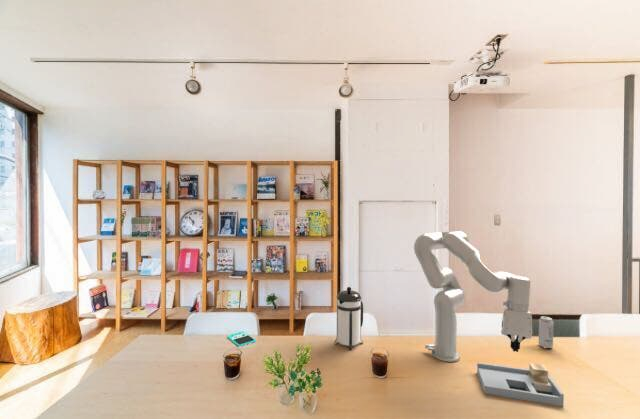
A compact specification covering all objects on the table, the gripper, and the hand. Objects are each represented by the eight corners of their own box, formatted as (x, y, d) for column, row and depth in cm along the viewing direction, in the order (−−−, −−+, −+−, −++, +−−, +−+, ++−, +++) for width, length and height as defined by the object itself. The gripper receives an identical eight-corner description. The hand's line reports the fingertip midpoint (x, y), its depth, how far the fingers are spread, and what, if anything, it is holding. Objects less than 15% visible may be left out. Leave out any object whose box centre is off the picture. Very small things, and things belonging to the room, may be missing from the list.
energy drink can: (548, 350, 160) (548, 320, 160) (535, 345, 166) (536, 316, 166) (555, 348, 163) (556, 319, 162) (543, 343, 168) (543, 315, 168)
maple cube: (533, 381, 127) (533, 369, 127) (529, 374, 132) (529, 363, 132) (547, 383, 126) (548, 371, 126) (543, 377, 131) (543, 364, 130)
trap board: (484, 393, 124) (484, 382, 124) (477, 372, 139) (477, 362, 139) (563, 406, 116) (563, 394, 116) (546, 382, 132) (546, 372, 132)
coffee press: (366, 351, 159) (367, 291, 158) (334, 350, 159) (335, 290, 158) (362, 336, 176) (363, 282, 175) (333, 336, 176) (334, 282, 176)
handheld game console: (243, 332, 181) (243, 330, 181) (256, 342, 169) (256, 340, 169) (226, 337, 175) (226, 335, 175) (239, 348, 163) (239, 345, 163)
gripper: (499, 307, 129) (496, 351, 130) (542, 312, 125) (539, 357, 126) (495, 301, 136) (492, 343, 137) (535, 305, 132) (532, 349, 133)
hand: (514, 350), depth 131 cm, fingers closed
